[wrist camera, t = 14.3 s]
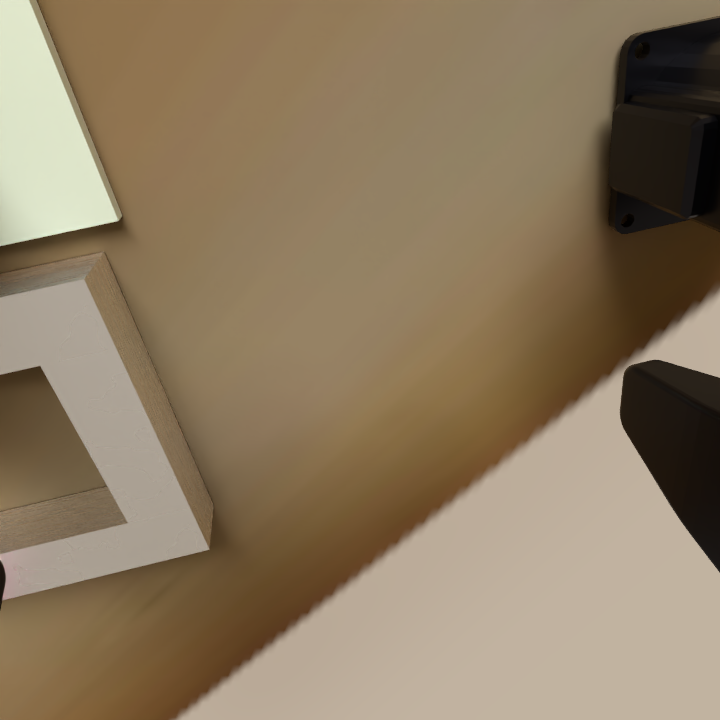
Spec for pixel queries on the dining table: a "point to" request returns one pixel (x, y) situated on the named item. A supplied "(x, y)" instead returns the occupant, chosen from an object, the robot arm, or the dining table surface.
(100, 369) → the collar
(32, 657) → the dining table surface
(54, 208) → the mat
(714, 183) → the robot arm
